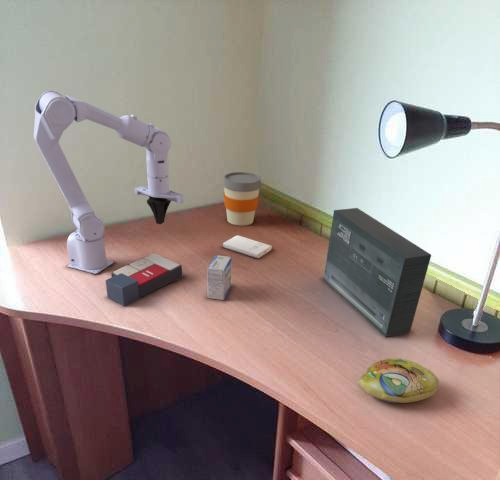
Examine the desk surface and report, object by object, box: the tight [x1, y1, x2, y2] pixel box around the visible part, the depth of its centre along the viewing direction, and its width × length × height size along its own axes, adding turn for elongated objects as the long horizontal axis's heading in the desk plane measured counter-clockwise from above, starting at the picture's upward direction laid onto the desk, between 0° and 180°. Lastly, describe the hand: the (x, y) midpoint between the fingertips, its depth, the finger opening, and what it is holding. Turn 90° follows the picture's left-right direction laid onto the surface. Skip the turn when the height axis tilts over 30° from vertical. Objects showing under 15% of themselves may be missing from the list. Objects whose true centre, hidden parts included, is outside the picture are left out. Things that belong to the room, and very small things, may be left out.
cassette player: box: [323, 207, 432, 338], centre depth 120 cm, size 29×7×20 cm, turn 22°
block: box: [105, 273, 140, 307], centre depth 120 cm, size 6×5×5 cm
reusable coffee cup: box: [222, 171, 262, 227], centre depth 165 cm, size 13×13×15 cm
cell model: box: [357, 357, 440, 404], centre depth 96 cm, size 11×8×15 cm
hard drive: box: [222, 234, 273, 259], centre depth 150 cm, size 2×8×12 cm
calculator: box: [110, 252, 183, 299], centre depth 129 cm, size 11×4×15 cm
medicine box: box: [206, 254, 233, 301], centre depth 124 cm, size 8×4×9 cm, turn 168°
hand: (160, 222), depth 139 cm, fingers closed
